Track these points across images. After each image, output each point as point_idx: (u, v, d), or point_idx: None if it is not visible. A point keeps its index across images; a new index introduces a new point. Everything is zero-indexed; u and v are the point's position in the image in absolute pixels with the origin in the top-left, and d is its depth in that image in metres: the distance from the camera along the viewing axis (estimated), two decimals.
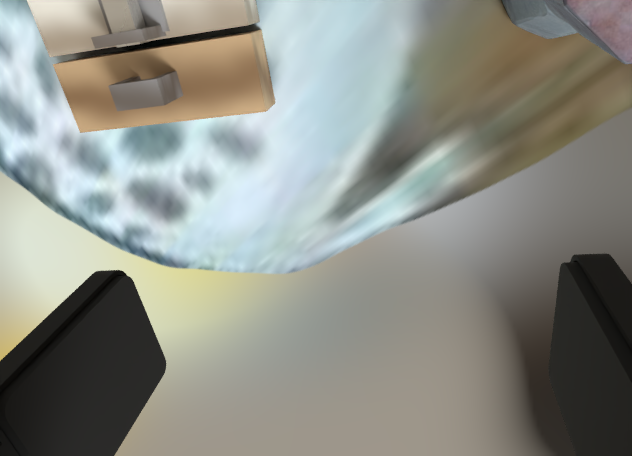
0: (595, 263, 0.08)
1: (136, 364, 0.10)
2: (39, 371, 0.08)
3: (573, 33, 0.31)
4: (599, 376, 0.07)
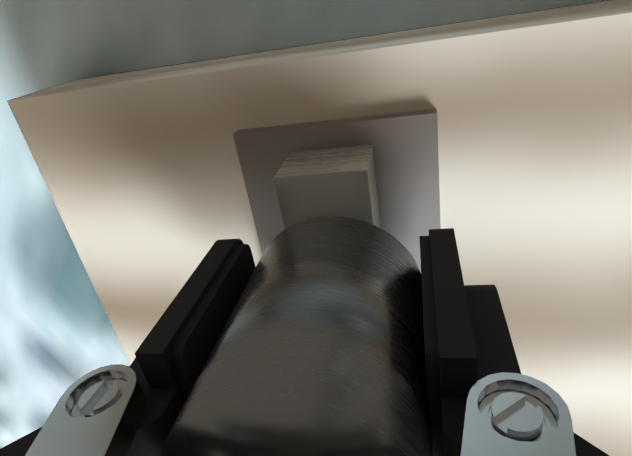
0: (439, 235, 0.09)
1: None
2: (199, 324, 0.08)
3: None
4: None
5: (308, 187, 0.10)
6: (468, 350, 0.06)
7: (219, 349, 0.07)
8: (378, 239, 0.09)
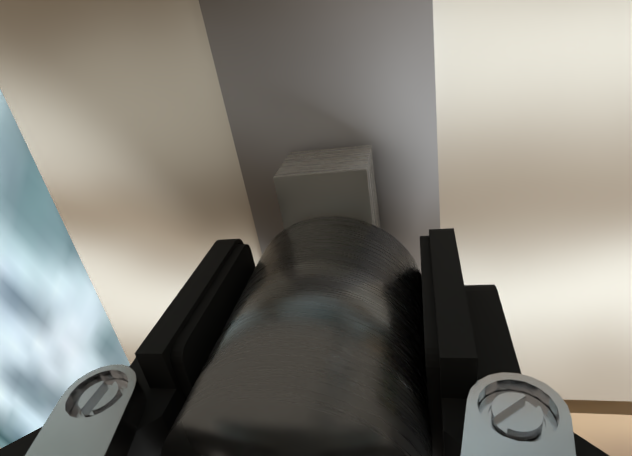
0: (439, 235, 0.09)
1: None
2: (199, 324, 0.08)
3: None
4: None
5: (308, 187, 0.10)
6: (468, 350, 0.06)
7: (219, 349, 0.07)
8: (378, 239, 0.09)
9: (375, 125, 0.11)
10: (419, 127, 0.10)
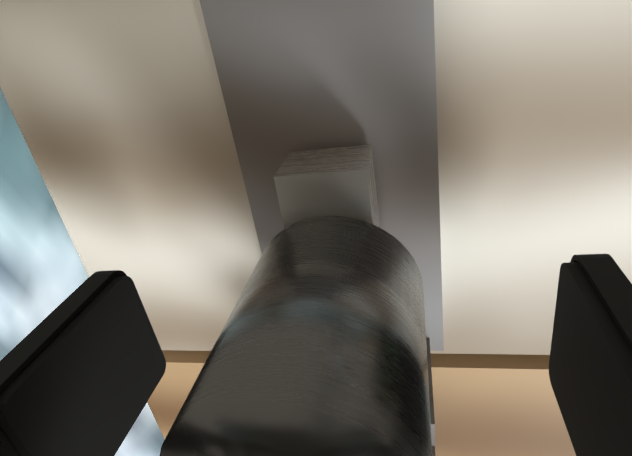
0: (595, 263, 0.08)
1: (136, 364, 0.10)
2: (39, 371, 0.08)
3: None
4: (599, 376, 0.07)
5: (308, 186, 0.10)
6: None
7: (218, 348, 0.07)
8: (378, 239, 0.09)
9: (367, 39, 0.10)
10: (415, 40, 0.10)
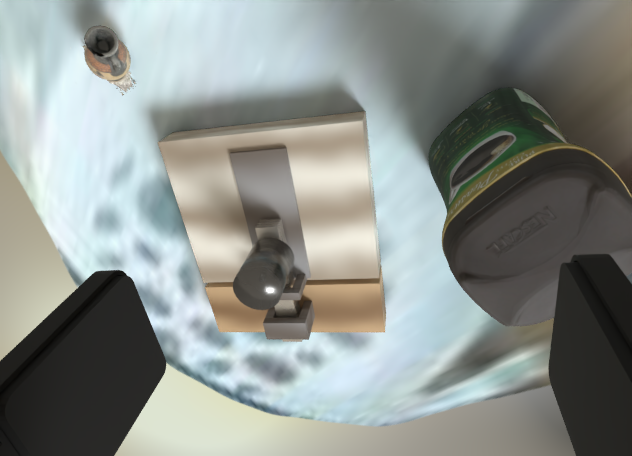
0: (595, 263, 0.08)
1: (136, 364, 0.10)
2: (39, 371, 0.08)
3: None
4: (599, 376, 0.07)
5: (263, 230, 0.39)
6: None
7: (243, 265, 0.37)
8: (280, 243, 0.39)
9: (278, 193, 0.39)
10: (289, 194, 0.39)
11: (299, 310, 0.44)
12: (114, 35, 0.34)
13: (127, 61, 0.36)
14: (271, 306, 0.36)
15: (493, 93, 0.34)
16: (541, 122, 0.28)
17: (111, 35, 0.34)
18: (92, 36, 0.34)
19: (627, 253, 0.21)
